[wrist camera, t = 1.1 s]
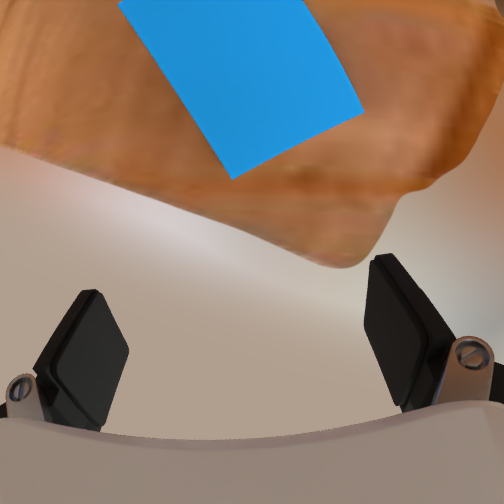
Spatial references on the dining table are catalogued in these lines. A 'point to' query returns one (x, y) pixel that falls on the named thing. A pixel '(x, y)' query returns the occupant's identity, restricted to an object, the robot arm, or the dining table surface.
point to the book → (247, 72)
